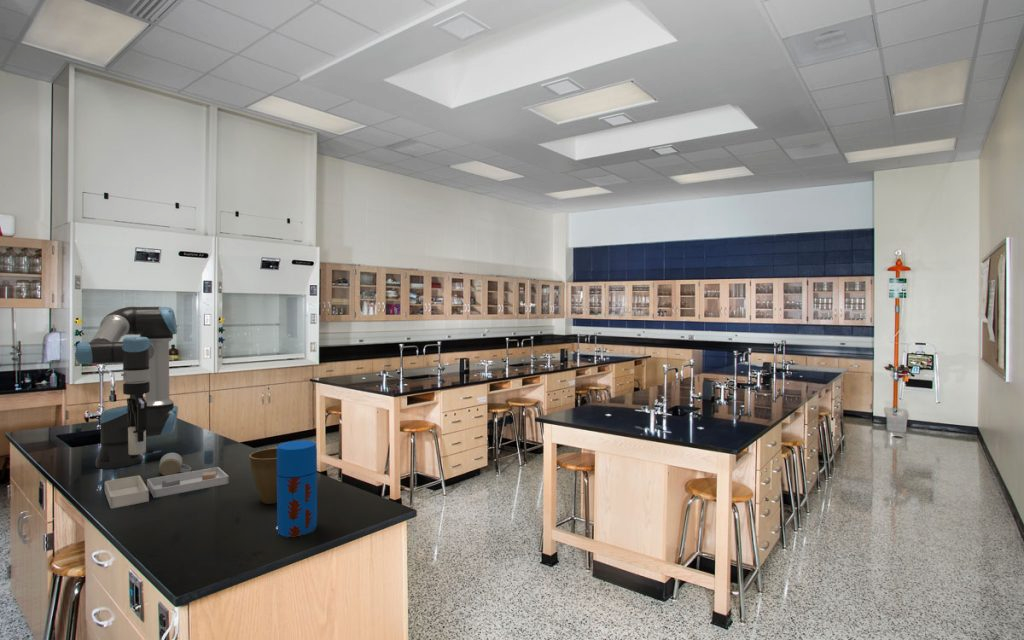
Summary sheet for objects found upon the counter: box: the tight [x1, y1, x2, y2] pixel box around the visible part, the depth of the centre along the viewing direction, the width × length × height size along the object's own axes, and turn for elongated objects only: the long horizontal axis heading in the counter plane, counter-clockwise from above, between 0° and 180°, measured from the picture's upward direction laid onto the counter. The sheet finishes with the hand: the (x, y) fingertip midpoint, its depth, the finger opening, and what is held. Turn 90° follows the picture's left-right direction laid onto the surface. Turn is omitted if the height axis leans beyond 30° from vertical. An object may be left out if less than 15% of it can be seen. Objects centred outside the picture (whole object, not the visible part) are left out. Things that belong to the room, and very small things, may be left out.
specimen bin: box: [104, 474, 150, 510], centre depth 186 cm, size 21×10×4 cm, turn 41°
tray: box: [146, 466, 230, 499], centre depth 198 cm, size 15×23×3 cm, turn 131°
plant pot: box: [249, 447, 277, 505], centre depth 184 cm, size 15×15×16 cm
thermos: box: [276, 440, 318, 537], centre depth 160 cm, size 11×11×25 cm
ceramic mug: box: [158, 452, 192, 476], centre depth 212 cm, size 11×8×8 cm
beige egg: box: [128, 426, 147, 455], centre depth 188 cm, size 5×5×9 cm
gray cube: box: [162, 478, 180, 488], centre depth 191 cm, size 4×4×4 cm
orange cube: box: [202, 471, 216, 481], centre depth 199 cm, size 4×4×4 cm
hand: (137, 449), depth 188 cm, fingers closed on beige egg, 5 cm apart
